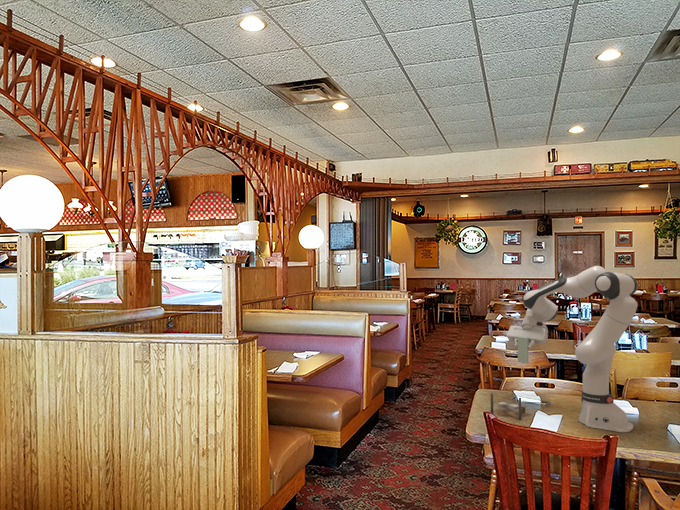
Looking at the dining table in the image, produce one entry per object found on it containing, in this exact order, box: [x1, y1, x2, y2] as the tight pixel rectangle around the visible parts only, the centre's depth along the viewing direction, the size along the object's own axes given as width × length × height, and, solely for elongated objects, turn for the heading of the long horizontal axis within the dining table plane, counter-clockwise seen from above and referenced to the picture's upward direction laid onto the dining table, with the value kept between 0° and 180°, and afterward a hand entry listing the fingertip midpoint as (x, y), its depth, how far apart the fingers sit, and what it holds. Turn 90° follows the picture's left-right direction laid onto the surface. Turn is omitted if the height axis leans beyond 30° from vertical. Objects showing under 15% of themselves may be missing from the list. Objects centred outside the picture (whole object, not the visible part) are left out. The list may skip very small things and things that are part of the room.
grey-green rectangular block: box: [517, 337, 530, 365], centre depth 264 cm, size 5×2×13 cm, turn 48°
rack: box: [490, 392, 532, 421], centre depth 251 cm, size 16×12×12 cm
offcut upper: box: [497, 401, 519, 412], centre depth 250 cm, size 9×4×2 cm, turn 48°
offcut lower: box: [496, 407, 519, 418], centre depth 250 cm, size 10×5×2 cm, turn 48°
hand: (522, 347), depth 264 cm, fingers closed on grey-green rectangular block, 5 cm apart
